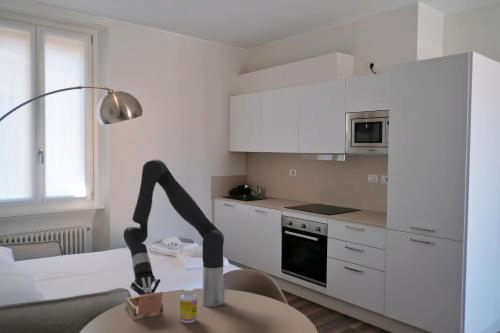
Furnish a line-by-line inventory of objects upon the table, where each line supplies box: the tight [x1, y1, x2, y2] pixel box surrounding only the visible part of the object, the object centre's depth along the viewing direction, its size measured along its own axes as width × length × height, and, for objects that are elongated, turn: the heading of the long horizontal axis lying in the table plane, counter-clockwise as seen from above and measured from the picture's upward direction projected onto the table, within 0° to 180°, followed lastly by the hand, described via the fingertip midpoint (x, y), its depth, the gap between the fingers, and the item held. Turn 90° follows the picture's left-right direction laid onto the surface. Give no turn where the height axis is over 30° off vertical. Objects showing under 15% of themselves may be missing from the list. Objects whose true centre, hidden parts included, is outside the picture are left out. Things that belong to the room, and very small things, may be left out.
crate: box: [125, 295, 164, 321], centre depth 169 cm, size 12×15×4 cm
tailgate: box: [138, 291, 163, 315], centre depth 162 cm, size 9×1×9 cm, turn 121°
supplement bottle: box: [179, 286, 198, 324], centre depth 161 cm, size 7×7×13 cm
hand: (149, 302), depth 163 cm, fingers closed
